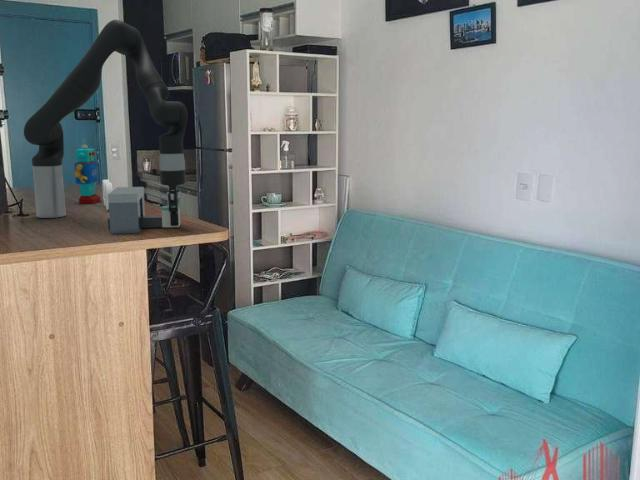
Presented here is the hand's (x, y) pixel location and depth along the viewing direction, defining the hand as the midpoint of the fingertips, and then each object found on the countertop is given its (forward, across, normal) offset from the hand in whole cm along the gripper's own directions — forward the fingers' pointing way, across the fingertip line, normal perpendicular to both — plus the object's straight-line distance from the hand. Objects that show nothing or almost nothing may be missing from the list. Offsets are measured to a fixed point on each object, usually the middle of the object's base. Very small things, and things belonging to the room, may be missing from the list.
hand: (175, 223), depth 196 cm
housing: (+1, 0, +14) cm, 14 cm away
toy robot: (+1, +63, +37) cm, 73 cm away
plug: (+1, 0, +9) cm, 9 cm away
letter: (+1, +46, +27) cm, 53 cm away
